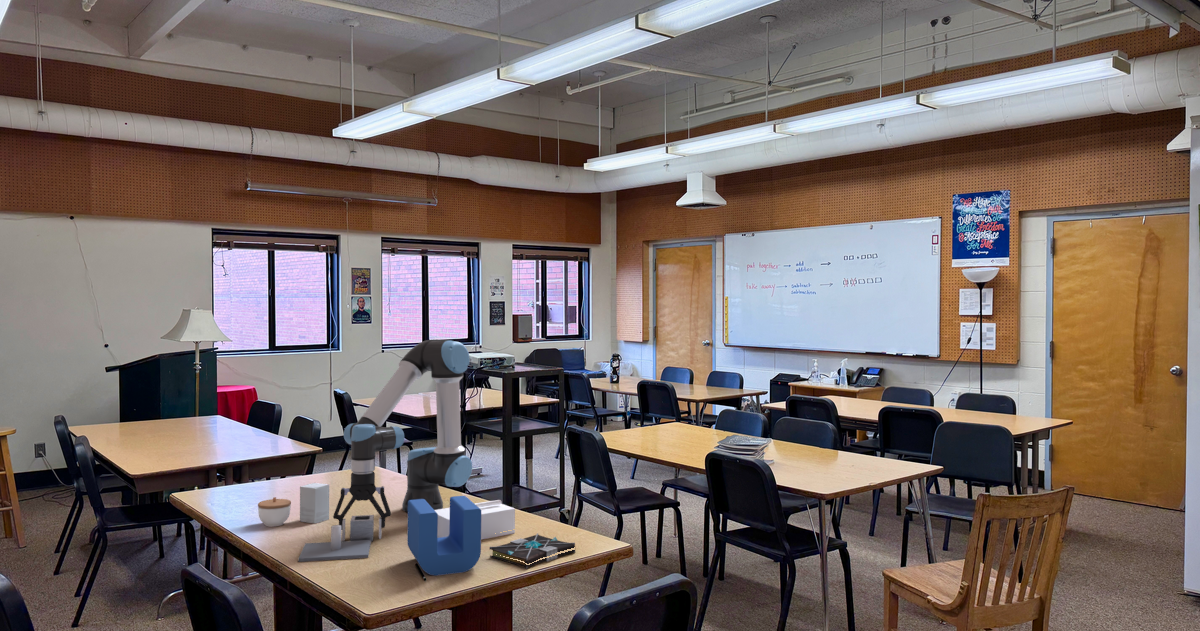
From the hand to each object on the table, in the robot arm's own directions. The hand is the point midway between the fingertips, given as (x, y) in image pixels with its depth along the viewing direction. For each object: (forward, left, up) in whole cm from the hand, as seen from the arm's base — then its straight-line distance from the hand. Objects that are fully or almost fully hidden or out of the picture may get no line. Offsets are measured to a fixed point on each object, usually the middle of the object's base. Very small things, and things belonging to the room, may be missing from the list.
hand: (361, 538), depth 259 cm
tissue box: (-36, +1, -1) cm, 36 cm away
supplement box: (+18, -28, 0) cm, 33 cm away
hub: (0, 0, 0) cm, 0 cm away
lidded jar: (+31, -25, 0) cm, 40 cm away
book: (-53, +27, -1) cm, 59 cm away
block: (-25, +32, 0) cm, 41 cm away
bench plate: (+7, +13, 0) cm, 15 cm away
